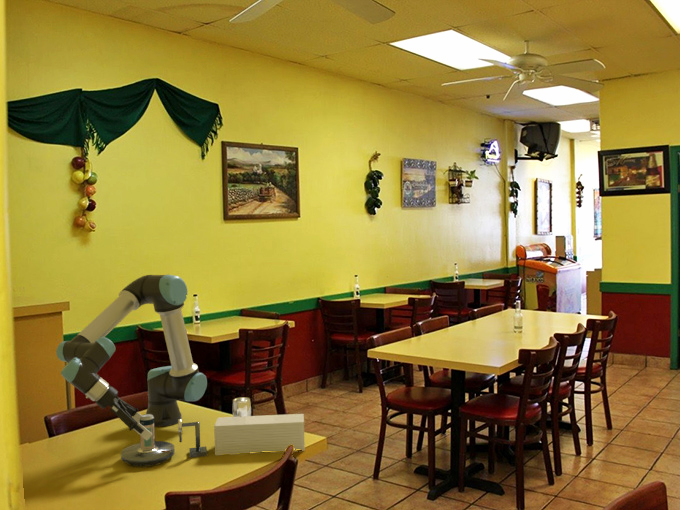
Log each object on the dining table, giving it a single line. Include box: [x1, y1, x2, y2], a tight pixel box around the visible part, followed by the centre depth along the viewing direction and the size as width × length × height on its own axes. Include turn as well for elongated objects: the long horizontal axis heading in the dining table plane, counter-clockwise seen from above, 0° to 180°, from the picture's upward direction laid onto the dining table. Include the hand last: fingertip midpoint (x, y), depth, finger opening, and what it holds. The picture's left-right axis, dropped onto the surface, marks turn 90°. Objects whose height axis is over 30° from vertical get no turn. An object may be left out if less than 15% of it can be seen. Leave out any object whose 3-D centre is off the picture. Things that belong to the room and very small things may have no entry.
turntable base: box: [127, 458, 169, 468], centre depth 223 cm, size 14×14×1 cm
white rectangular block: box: [213, 413, 306, 456], centre depth 232 cm, size 32×11×11 cm, turn 94°
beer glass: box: [232, 396, 252, 417], centre depth 244 cm, size 7×7×15 cm
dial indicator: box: [177, 419, 208, 459], centre depth 226 cm, size 6×10×13 cm, turn 104°
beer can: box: [139, 413, 156, 451], centre depth 223 cm, size 5×5×12 cm
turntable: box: [120, 440, 175, 465], centre depth 223 cm, size 18×18×2 cm
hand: (149, 431), depth 223 cm, fingers open, 13 cm apart
